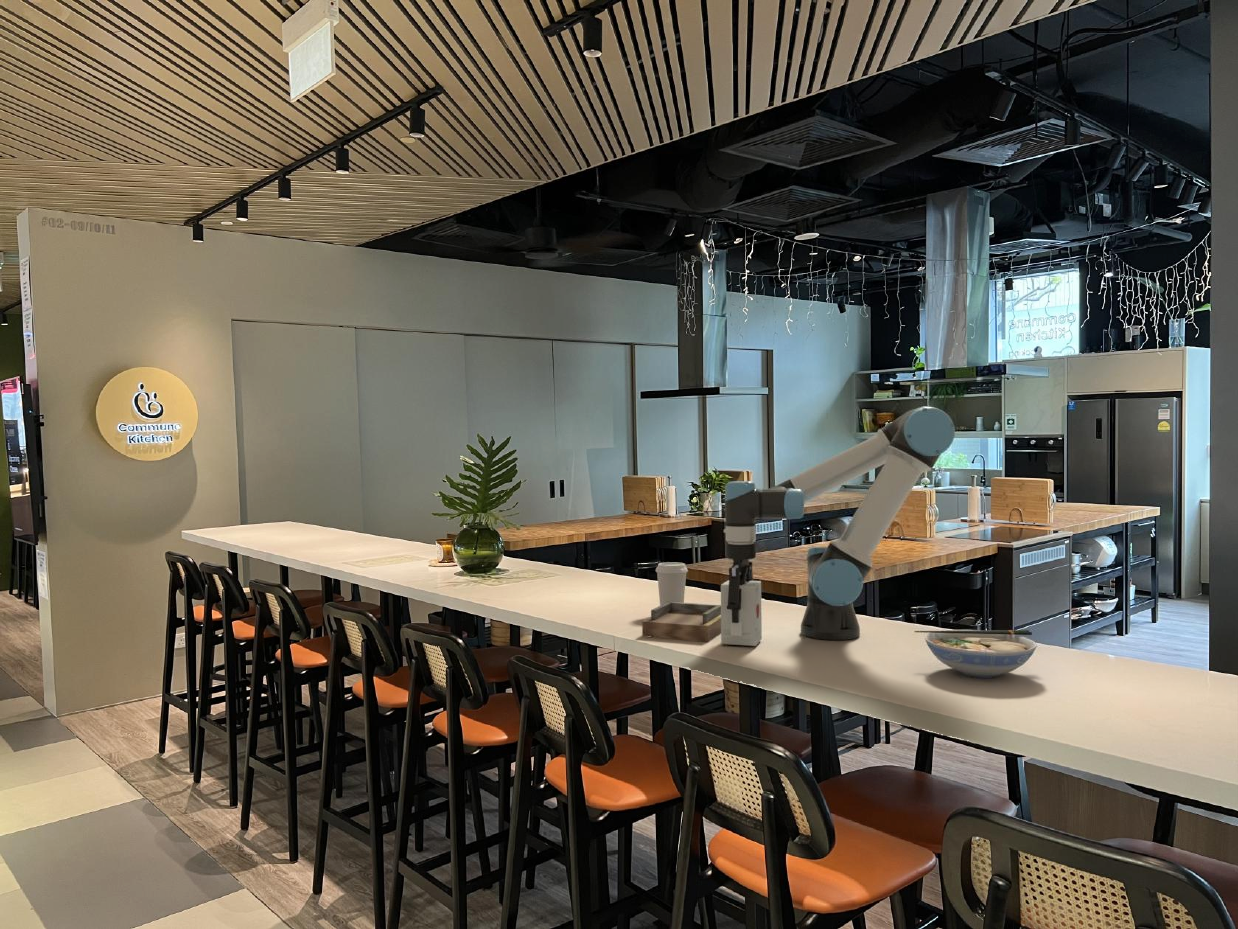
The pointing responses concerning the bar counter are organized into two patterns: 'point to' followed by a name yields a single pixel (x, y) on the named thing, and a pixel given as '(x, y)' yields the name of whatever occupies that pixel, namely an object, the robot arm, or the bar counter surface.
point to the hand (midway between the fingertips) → (741, 631)
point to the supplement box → (743, 615)
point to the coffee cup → (671, 582)
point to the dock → (684, 622)
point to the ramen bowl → (981, 650)
